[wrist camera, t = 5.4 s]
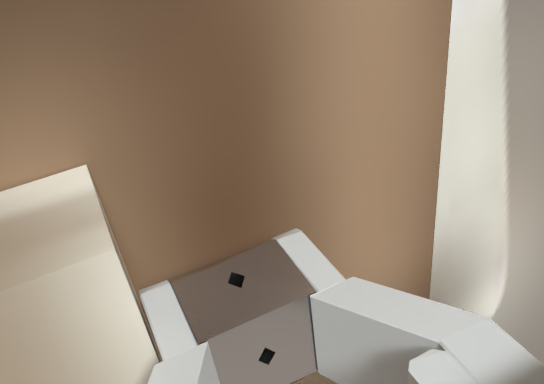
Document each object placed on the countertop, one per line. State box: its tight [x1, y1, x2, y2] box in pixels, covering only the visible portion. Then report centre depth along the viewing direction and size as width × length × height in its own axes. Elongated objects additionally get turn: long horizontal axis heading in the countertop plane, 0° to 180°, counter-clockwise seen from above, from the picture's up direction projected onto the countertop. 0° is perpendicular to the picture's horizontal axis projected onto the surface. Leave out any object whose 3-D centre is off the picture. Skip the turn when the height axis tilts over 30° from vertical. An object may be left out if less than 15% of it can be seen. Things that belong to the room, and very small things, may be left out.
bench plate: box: [0, 0, 452, 384], centre depth 12 cm, size 11×11×3 cm
